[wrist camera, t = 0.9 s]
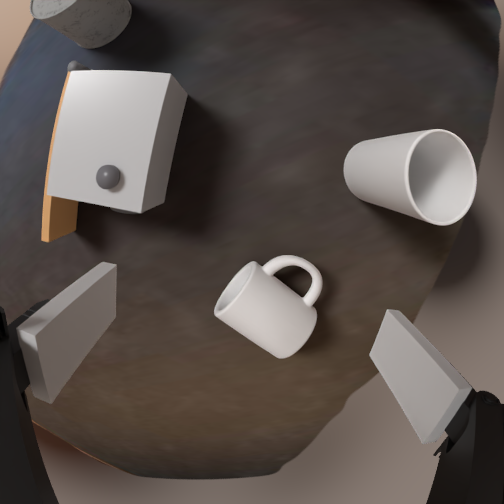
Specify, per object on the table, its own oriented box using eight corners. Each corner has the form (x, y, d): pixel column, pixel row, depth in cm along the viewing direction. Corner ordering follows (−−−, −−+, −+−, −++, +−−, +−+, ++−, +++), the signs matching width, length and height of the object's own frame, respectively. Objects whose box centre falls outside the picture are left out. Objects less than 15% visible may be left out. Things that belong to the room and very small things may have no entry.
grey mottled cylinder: (144, 4, 29) (114, -40, 17) (104, 56, 31) (59, 25, 19) (100, -9, 27) (66, -46, 15) (63, 39, 29) (17, 13, 17)
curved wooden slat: (92, 75, 31) (65, 61, 24) (104, 75, 31) (78, 60, 24) (65, 227, 37) (36, 239, 30) (76, 230, 37) (47, 243, 30)
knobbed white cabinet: (104, 87, 32) (67, 69, 23) (187, 94, 33) (169, 71, 24) (83, 194, 36) (41, 203, 26) (163, 209, 37) (136, 223, 27)
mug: (272, 337, 42) (277, 370, 34) (216, 297, 40) (210, 326, 33) (330, 275, 40) (348, 299, 32) (274, 228, 38) (282, 244, 30)
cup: (357, 212, 37) (421, 241, 22) (333, 152, 35) (391, 145, 20) (406, 189, 37) (484, 205, 21) (386, 132, 35) (461, 119, 19)
